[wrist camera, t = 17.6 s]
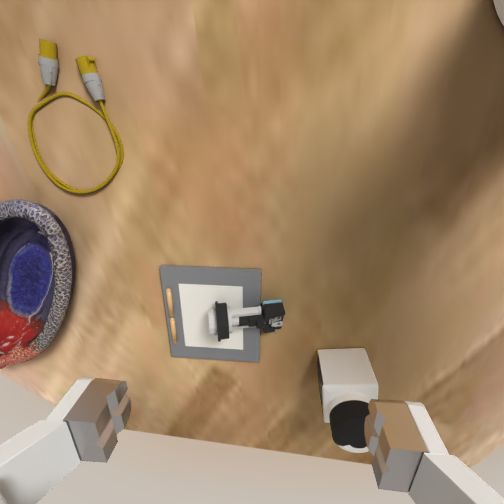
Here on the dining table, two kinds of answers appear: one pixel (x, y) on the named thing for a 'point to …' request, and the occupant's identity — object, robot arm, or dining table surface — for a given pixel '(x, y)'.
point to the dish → (32, 279)
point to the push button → (245, 318)
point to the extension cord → (94, 87)
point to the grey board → (203, 298)
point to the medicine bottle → (346, 394)
